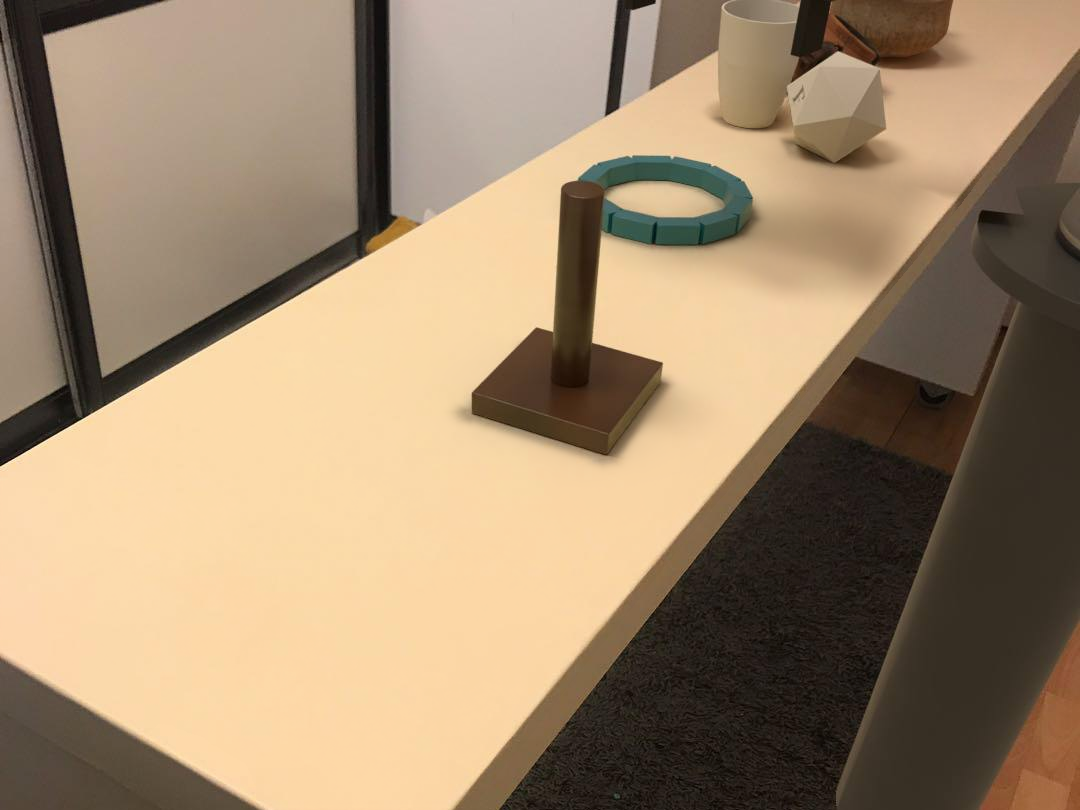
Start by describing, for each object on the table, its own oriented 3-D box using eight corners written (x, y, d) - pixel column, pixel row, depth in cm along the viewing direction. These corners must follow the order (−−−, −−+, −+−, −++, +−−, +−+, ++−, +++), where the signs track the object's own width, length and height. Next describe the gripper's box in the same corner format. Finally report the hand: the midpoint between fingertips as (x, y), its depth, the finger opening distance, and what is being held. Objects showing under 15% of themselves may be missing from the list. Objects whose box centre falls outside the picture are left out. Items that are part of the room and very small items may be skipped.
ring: (768, 194, 92) (771, 176, 91) (716, 260, 82) (719, 240, 81) (616, 161, 96) (618, 143, 95) (549, 219, 86) (550, 200, 85)
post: (660, 382, 69) (688, 177, 60) (606, 455, 62) (628, 239, 54) (535, 346, 71) (543, 145, 62) (471, 413, 65) (470, 200, 56)
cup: (799, 115, 107) (820, 7, 101) (773, 140, 102) (793, 28, 95) (723, 99, 110) (739, -7, 103) (694, 122, 104) (709, 12, 98)
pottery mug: (779, 73, 118) (831, 5, 114) (842, 129, 118) (897, 63, 113) (750, 72, 108) (806, -2, 104) (819, 134, 108) (878, 62, 103)
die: (798, 132, 105) (766, 55, 98) (890, 95, 102) (864, 12, 94) (809, 195, 101) (776, 120, 94) (905, 159, 98) (879, 77, 90)
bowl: (838, 5, 134) (880, -79, 126) (938, 58, 132) (985, -24, 125) (795, 39, 121) (838, -52, 114) (904, 97, 119) (955, 9, 112)
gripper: (563, -397, 62) (545, -3, 76) (963, -375, 51) (855, 87, 64) (640, -391, 67) (610, -20, 81) (1025, -370, 55) (912, 61, 69)
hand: (719, 28), depth 73 cm, fingers open, 13 cm apart
